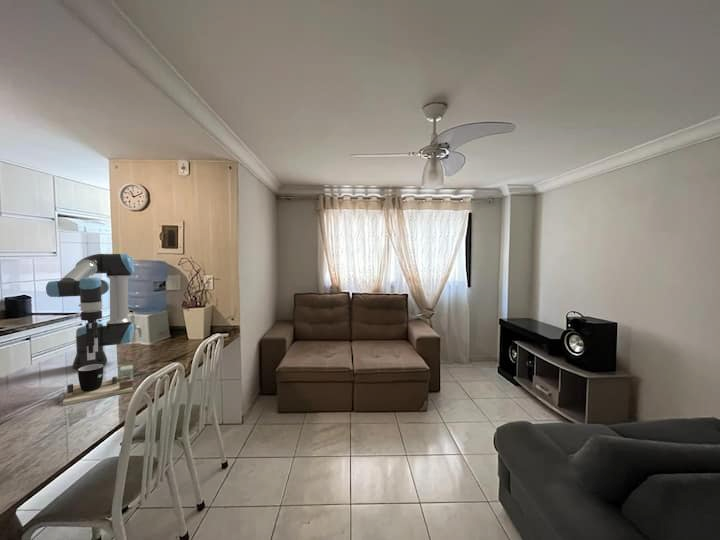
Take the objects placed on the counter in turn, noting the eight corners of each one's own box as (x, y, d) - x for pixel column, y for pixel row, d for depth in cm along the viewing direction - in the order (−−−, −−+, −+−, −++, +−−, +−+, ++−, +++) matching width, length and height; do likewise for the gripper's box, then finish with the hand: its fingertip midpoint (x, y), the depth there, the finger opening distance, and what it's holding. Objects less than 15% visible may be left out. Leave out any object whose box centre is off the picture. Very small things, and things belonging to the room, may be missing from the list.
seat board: (70, 389, 148) (70, 379, 148) (132, 378, 162) (132, 369, 162) (62, 405, 132) (62, 395, 131) (132, 391, 146) (132, 382, 146)
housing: (120, 376, 159) (120, 366, 159) (132, 374, 162) (132, 364, 162) (120, 380, 154) (120, 370, 154) (132, 378, 157) (132, 368, 157)
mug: (99, 391, 142) (99, 369, 142) (74, 394, 139) (74, 371, 138) (109, 381, 153) (108, 361, 153) (86, 384, 150) (85, 363, 149)
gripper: (84, 307, 153) (85, 350, 154) (76, 316, 133) (78, 365, 134) (103, 306, 157) (105, 347, 158) (99, 314, 137) (101, 361, 138)
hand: (92, 355), depth 146 cm, fingers open, 13 cm apart
